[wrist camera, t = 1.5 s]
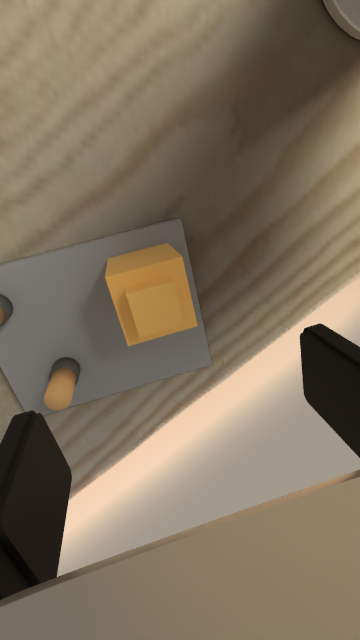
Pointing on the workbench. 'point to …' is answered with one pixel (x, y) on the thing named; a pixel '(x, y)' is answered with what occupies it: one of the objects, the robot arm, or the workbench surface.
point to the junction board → (86, 325)
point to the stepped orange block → (150, 293)
